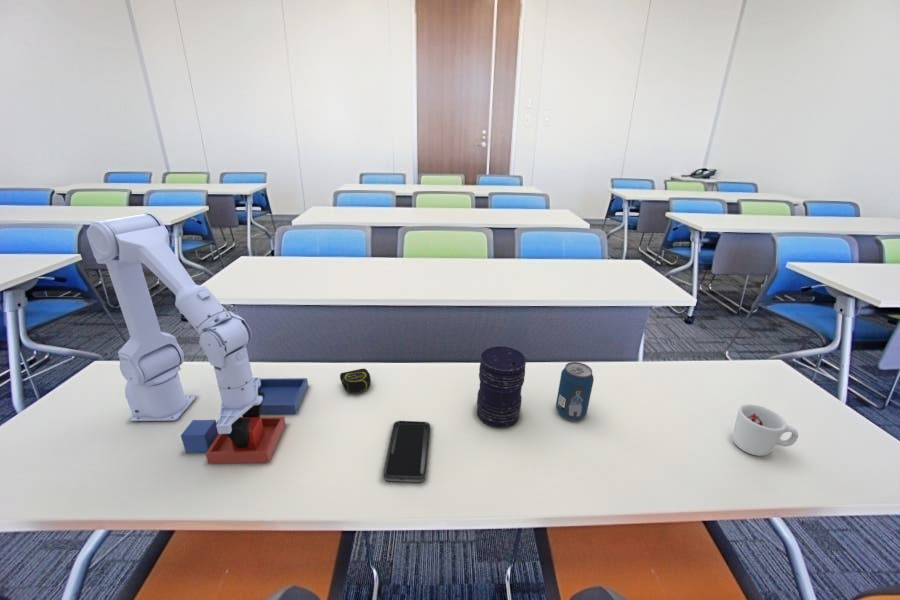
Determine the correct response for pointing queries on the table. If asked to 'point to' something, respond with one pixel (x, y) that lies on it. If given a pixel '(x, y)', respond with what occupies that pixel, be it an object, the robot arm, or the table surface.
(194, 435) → the blue block
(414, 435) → the phone
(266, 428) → the red tray
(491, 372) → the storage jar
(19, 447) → the table surface
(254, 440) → the red block
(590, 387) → the soda can
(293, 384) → the blue tray
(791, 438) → the cup
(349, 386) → the tape measure
